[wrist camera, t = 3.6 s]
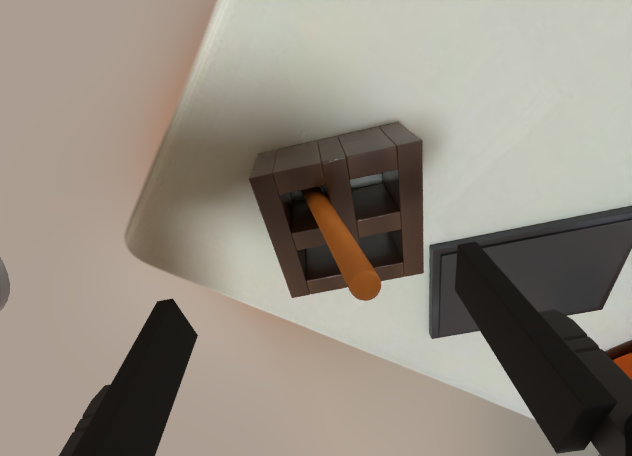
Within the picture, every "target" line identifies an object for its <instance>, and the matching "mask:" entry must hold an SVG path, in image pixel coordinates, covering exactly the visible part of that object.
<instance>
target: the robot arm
mask: <svg viewBox="0 0 632 456" xmlns="http://www.w3.org/2000/svg"><path fill="white" fill-rule="evenodd" d="M455 291H456V293H457V294H458V296H459V298H460V299H461V301H462V302H463V304H464V306H465V307H466V309H467V310H468V312H469V314H470V315H471V317H472V318H473V320H474V322H475V323H476V325H477V326H478V328H479V330H480V331H481V333H482V334H483V336H484V338H485V339H486V341H487V343H488V344H489V346H490V347H491V349H492V351H493V352H494V354H495V355H496V357H497V359H498V360H499V362H500V363H501V365H502V367H503V368H504V370H505V371H506V373H507V375H508V376H509V378H510V379H511V381H512V383H513V384H514V386H515V387H516V389H517V391H518V392H519V394H520V395H521V397H522V399H523V400H524V402H525V403H526V405H527V407H528V408H529V410H530V412H531V413H532V415H533V416H534V418H535V420H536V421H537V423H538V424H539V426H540V428H541V429H542V431H543V432H544V434H545V435H546V437H547V439H548V440H549V442H550V444H551V445H552V447H553V448H554V450H555V452H556V453H565V452H572V451H579V450H584V449H585V448H586V446H587V445H588V444H589V442H590V441H591V442H592V444H593V445H594V446H595V448H596V449H597V450H598V452H599V453H600V454H599V456H632V380H631V379H630V378H629V376H628V375H627V374H626V373H625V372H624V371H623V370H622V369H621V368H620V367H619V366H618V365H617V364H616V363H615V362H614V361H613V360H612V359H611V358H610V357H609V356H608V355H607V354H606V353H605V352H604V351H603V350H602V349H599V346H598V345H597V344H596V343H595V342H594V341H593V340H592V339H591V338H590V337H588V336H587V334H586V333H585V332H584V331H583V330H582V329H581V328H580V327H579V326H578V325H577V324H576V323H575V322H574V321H573V320H572V319H570V318H569V317H567V316H565V315H564V314H562V313H560V312H559V311H557V310H556V309H553V310H547V311H541V312H538V311H537V310H536V309H535V308H534V307H533V305H532V304H531V303H530V302H529V301H528V300H527V299H526V298H525V296H524V295H523V294H522V293H521V292H520V291H519V290H518V289H517V287H516V286H515V285H514V284H513V283H512V282H511V281H510V279H509V278H508V277H507V276H506V275H505V274H504V273H503V272H502V270H501V269H500V268H499V267H498V266H497V265H496V264H495V262H494V261H493V260H492V259H491V258H490V257H489V256H488V255H487V253H486V252H485V251H484V250H483V249H482V248H481V247H480V246H479V244H478V243H477V242H476V241H475V242H469V243H464V244H459V245H458V248H457V263H456V277H455ZM197 336H198V335H197V334H196V332H195V331H194V329H193V328H192V326H191V325H190V323H189V322H188V320H187V319H186V317H185V316H184V314H183V313H182V312H181V310H180V309H179V307H178V306H177V304H176V303H175V301H174V300H173V299H169V300H163V301H157V303H156V305H155V307H154V308H153V310H152V312H151V314H150V316H149V318H148V319H147V321H146V323H145V325H144V326H143V328H142V330H141V332H140V333H139V335H138V337H137V339H136V341H135V342H134V344H133V346H132V348H131V350H130V351H129V353H128V355H127V357H126V358H125V360H124V362H123V364H122V366H121V367H120V369H119V371H118V373H117V375H116V376H115V378H114V380H113V382H112V384H111V385H105V386H104V387H103V388H102V389H101V390H100V391H99V393H98V394H97V395H96V396H95V397H94V398H93V399H92V401H91V403H90V404H89V406H88V407H87V409H86V411H85V413H84V414H83V418H82V419H80V421H79V423H78V424H77V426H76V428H75V432H74V433H72V435H71V436H70V438H69V440H68V441H67V443H66V445H65V446H64V448H63V450H62V452H61V453H60V455H59V456H155V454H156V451H157V448H158V445H159V443H160V440H161V437H162V434H163V431H164V429H165V426H166V423H167V420H168V417H169V415H170V412H171V409H172V406H173V403H174V401H175V397H176V395H177V392H178V389H179V387H180V384H181V381H182V378H183V375H184V372H185V370H186V367H187V364H188V361H189V358H190V355H191V353H192V350H193V347H194V344H195V342H196V339H197Z"/></svg>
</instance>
